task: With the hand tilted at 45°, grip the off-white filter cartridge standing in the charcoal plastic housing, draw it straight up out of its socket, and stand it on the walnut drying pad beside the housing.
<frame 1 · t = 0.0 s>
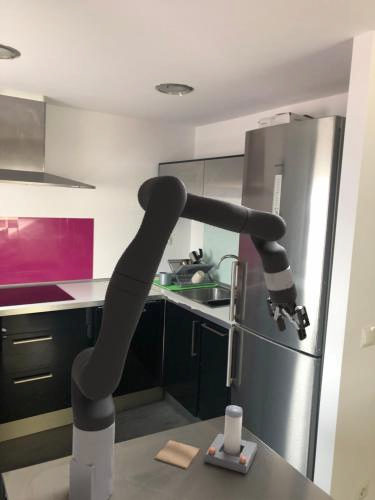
hand: (292, 334, 116), 31 cm above the countertop, tool tilted 20°, fingers open, 8 cm apart
cartridge: (231, 455, 108), point 1 cm above the countertop, touching housing
pad: (177, 456, 108), on the countertop
housing: (231, 457, 108), on the countertop
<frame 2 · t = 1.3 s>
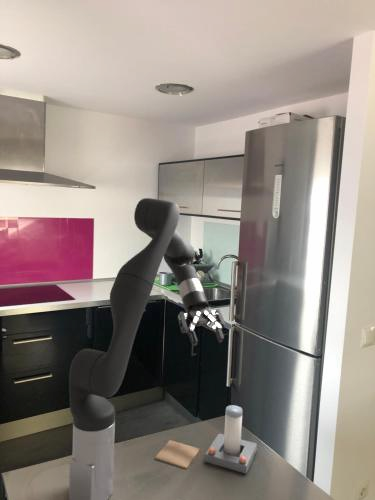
hand: (208, 342, 119), 27 cm above the countertop, tool tilted 45°, fingers open, 8 cm apart
nothing on the countertop moved.
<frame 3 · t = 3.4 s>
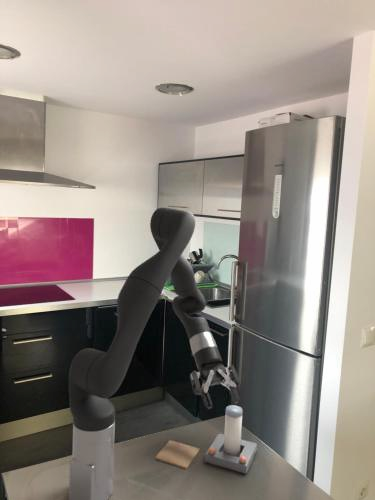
hand: (223, 405, 111), 12 cm above the countertop, tool tilted 45°, fingers open, 8 cm apart
nothing on the countertop moved.
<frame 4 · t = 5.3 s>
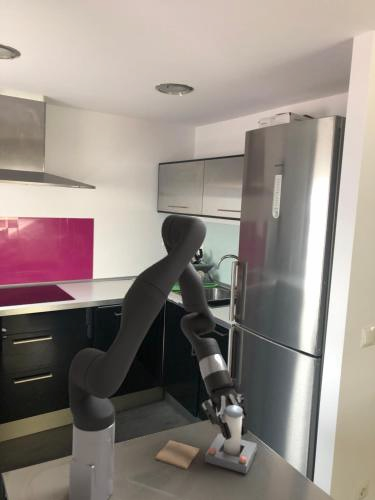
hand: (236, 436, 106), 7 cm above the countertop, tool tilted 45°, fingers closed on cartridge, 4 cm apart
cartridge: (231, 455, 108), point 1 cm above the countertop, touching gripper, housing
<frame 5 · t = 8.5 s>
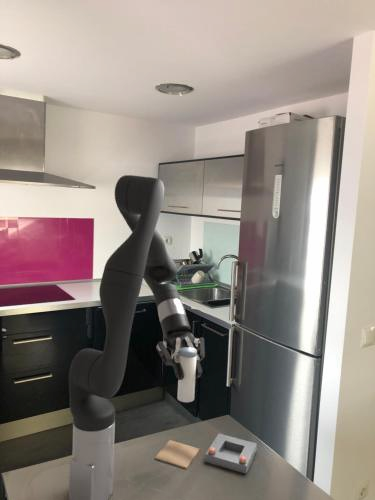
hand: (190, 377, 103), 23 cm above the countertop, tool tilted 45°, fingers closed on cartridge, 4 cm apart
cartridge: (185, 398, 106), point 16 cm above the countertop, touching gripper
when the fingers open (9 cm above the countertop, at t = 11.8 s): cartridge drops 2 cm, resting on pad.
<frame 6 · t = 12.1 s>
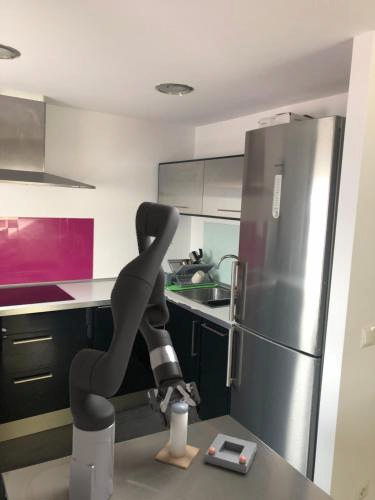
hand: (181, 425, 105), 10 cm above the countertop, tool tilted 45°, fingers open, 7 cm apart
cartridge: (177, 452, 108), point 1 cm above the countertop, touching pad
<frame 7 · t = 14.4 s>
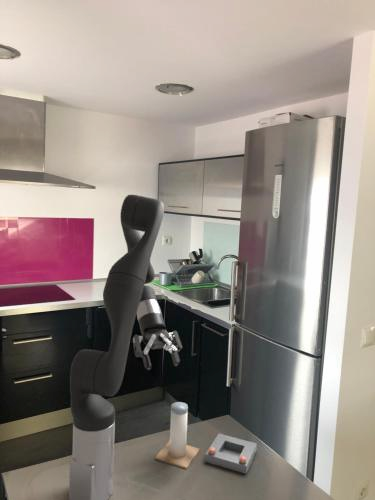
hand: (163, 366, 116), 20 cm above the countertop, tool tilted 45°, fingers open, 8 cm apart
nothing on the countertop moved.
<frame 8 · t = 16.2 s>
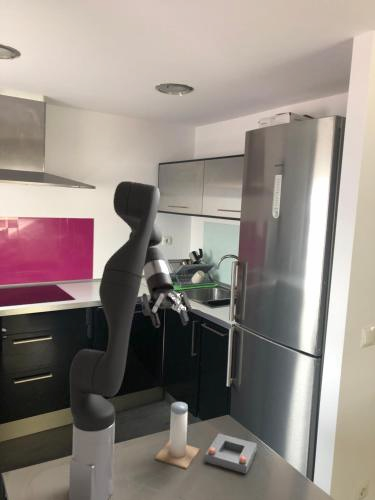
hand: (172, 325, 115), 33 cm above the countertop, tool tilted 45°, fingers open, 8 cm apart
nothing on the countertop moved.
at the end: cartridge inside the target area on the pad (0.1 cm from its centre), point 1.0 cm above the pad's base; cartridge tilted 1°; the gripper is holding nothing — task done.
